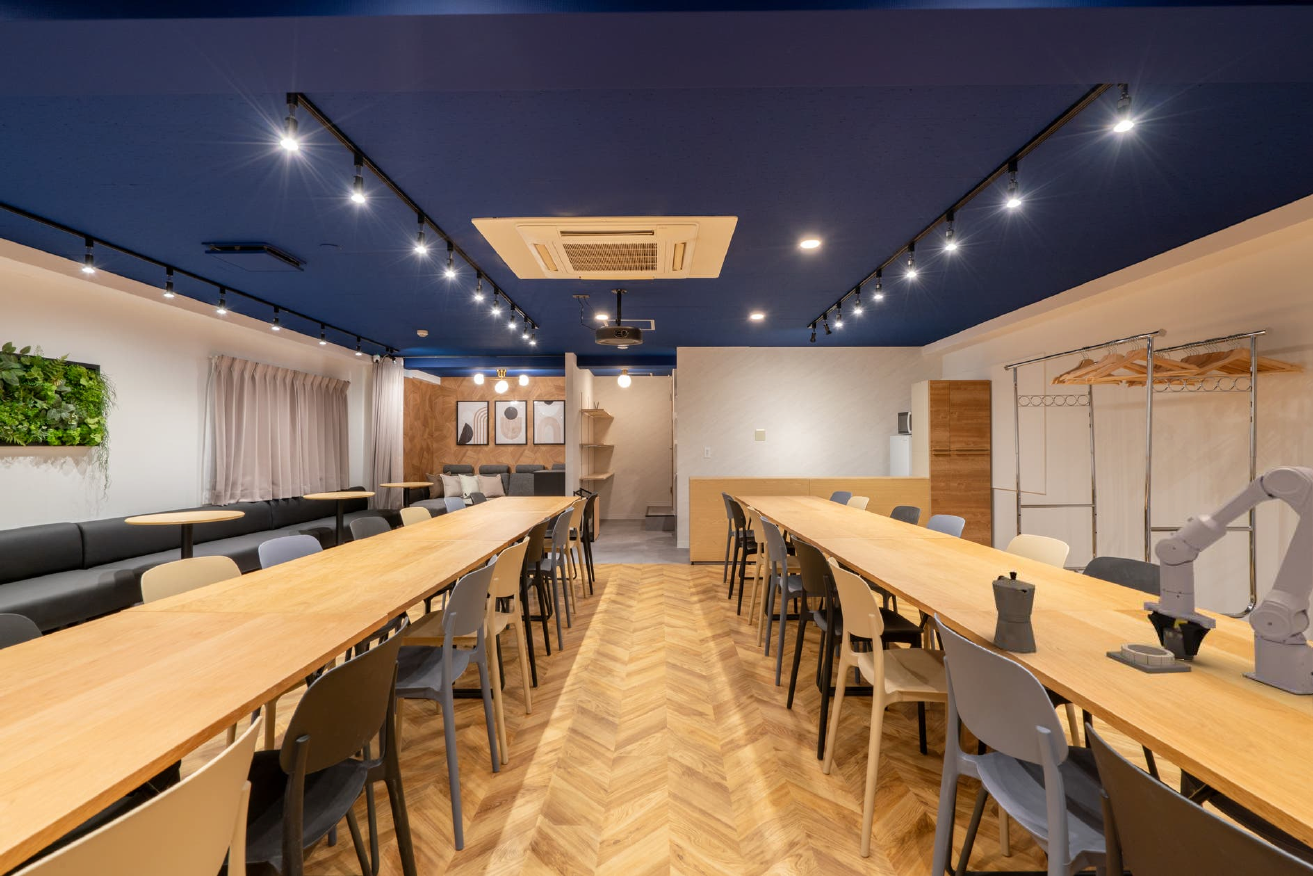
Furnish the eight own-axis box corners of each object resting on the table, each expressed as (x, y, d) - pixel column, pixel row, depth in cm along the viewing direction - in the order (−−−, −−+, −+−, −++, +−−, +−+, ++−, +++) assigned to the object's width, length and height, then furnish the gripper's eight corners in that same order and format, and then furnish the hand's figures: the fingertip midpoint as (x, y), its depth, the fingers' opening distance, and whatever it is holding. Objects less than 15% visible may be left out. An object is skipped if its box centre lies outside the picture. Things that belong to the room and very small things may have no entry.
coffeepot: (1049, 658, 127) (1048, 578, 128) (1004, 655, 129) (1002, 576, 130) (1020, 636, 143) (1018, 565, 143) (979, 633, 144) (978, 563, 145)
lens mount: (1191, 671, 119) (1191, 657, 119) (1148, 673, 118) (1148, 659, 118) (1146, 654, 129) (1146, 641, 129) (1106, 656, 128) (1106, 643, 128)
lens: (1200, 660, 126) (1199, 633, 126) (1180, 661, 125) (1179, 634, 125) (1177, 652, 131) (1177, 626, 131) (1158, 653, 130) (1157, 627, 130)
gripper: (1131, 583, 135) (1132, 640, 135) (1194, 599, 121) (1196, 663, 120) (1158, 583, 136) (1159, 639, 135) (1223, 598, 121) (1225, 661, 121)
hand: (1178, 650), depth 128 cm, fingers closed on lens, 5 cm apart
